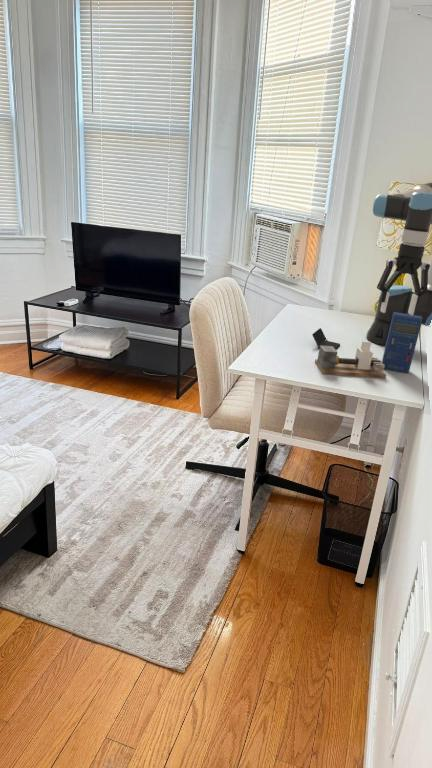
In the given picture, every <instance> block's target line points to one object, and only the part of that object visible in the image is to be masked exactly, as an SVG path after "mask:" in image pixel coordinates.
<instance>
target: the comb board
mask: <svg viewBox="0 0 432 768" xmlns="http://www.w3.org/2000/svg"><path fill="white" fill-rule="evenodd" d="M358 361H359V359H355V358H347V357H339V355H338V351H337V349H336V350H335V349H334V347H333V346H320V348H319V349H318V355H317V358H316V359H314V364H315V365H316V366H317V368H318V370H319V371H320V373H322V375H331V376H332V375H333V376H348V377H362V378H375V379H376V378H377V379H386V378H387V374H386V373H385V369H384V366H385V365H384V364H383V363H382V360H380V359H379V358H378V357H374V356H372V360H371V364H370V369H369V370H365V369H358V368H357V366H358Z"/></svg>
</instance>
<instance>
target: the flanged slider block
mask: <svg viewBox="0 0 432 768" xmlns="http://www.w3.org/2000/svg"><path fill="white" fill-rule="evenodd" d="M371 346H372V342H371V341H368V340H367V341H366V340H364V341H361V346H360V347H357V348H356V352H355V356H354V359H359V361H358V366H357V368H358V369H365V370H369V369H370V364H371V360H372V357H373V354H374V352H373V351H372V350H371Z"/></svg>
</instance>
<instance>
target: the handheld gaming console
mask: <svg viewBox="0 0 432 768" xmlns="http://www.w3.org/2000/svg"><path fill="white" fill-rule="evenodd" d="M311 335H312V337H313V339H314V341H315V343H316V345H317V347H318V348H317V350H319V348H320V346H333V347H334V349H335V350H336V351H337V349H339V347H340V346H341V343H339V342H334V341H330V340H328V339H327V337H326V335H325V333H324V331H323V329H322V327H320V328H318V329H317V330H316V331H314V332H313V333H312V334H311Z"/></svg>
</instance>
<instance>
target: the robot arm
mask: <svg viewBox="0 0 432 768" xmlns="http://www.w3.org/2000/svg"><path fill="white" fill-rule="evenodd" d="M372 213H373V215H374V216H375V217H377V218H382V219H391V220H398V221H404V222H405V223H404V228H403V232H402V235H401V242H402V243H400V245H399V248H398V252H397V257H396V258H395V259H393V260H390V259H387V260H386V261H385V262H386V263H385V269H384V270H383V273H382V274H381V276H380V280H379V281H378V283H377V285H376V288H377V290H379V291H380V294H379V296H378V302H377V307H376V312H375V316H374V319H373V321H372V324H371V325H370V327H369V329H368V331H367V333H366V337H365V338H366V340H367V341H368V342H371V343H373V344H378V345H381V346H384V347H385V346H386V342H387V338H388V334H389V329H390V325H391V321H392V317H393V312H397V313H403V314H410V315H416V316H422V323H421V326H425V327H430V326H429V325H430V323H431V320H432V259H431V261H430V264H429V263H427V262H423V260H422V259H423V256H424V253H425V249H426V247H425V245H426V244H427V240H428V237H429V236H428V235H429V232H430V228H431V225H432V182H428V183H423V184H418V185H417V186H415V187H414V188H413V189H410V190H407V191H404V192H399V193H395V194H388V193H386V194H385V193H379V194H378V195H377V196H376V197H375V198H374V201H373V206H372ZM395 266H396V268H395V270H394V271H393V273H392V274H391V272H392V270H393V268H394V267H395ZM419 268H420V269H421V270H420V271H421V272H420V280H419V277H418V276H419V274H418V273H419V272H418V270H419ZM403 274H404V275H405V274H406V275H407V274H408V275H410V276H411V277H410V278H411V280H412V284H413V285H412V286H413V287H411V286H409V285H400V284H399V285H398V284H396V285H394V284H395V283H396V282H397V280H398V279H399V278H400V276H402V275H403ZM390 275H391V276H390ZM413 289H414V291H413Z"/></svg>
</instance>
